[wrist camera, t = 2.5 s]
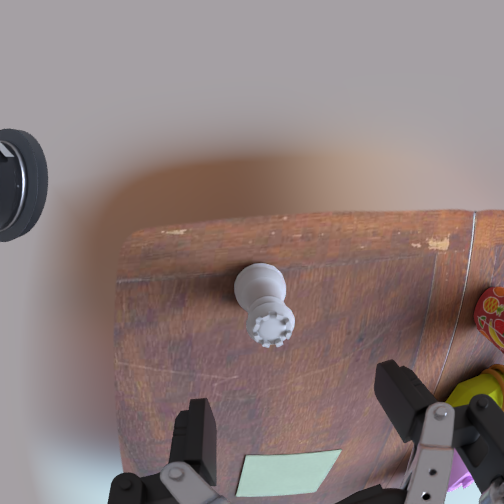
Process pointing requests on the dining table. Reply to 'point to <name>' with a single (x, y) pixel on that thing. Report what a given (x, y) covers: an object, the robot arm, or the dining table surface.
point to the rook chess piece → (264, 304)
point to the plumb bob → (480, 387)
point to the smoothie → (491, 315)
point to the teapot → (459, 474)
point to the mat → (284, 473)
